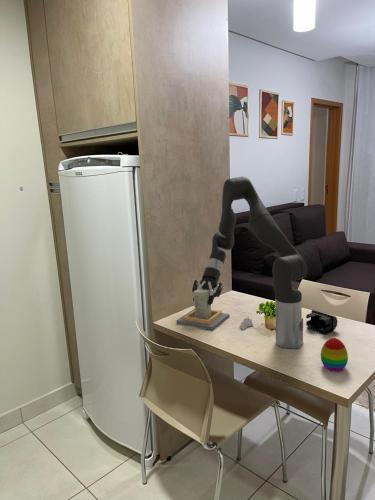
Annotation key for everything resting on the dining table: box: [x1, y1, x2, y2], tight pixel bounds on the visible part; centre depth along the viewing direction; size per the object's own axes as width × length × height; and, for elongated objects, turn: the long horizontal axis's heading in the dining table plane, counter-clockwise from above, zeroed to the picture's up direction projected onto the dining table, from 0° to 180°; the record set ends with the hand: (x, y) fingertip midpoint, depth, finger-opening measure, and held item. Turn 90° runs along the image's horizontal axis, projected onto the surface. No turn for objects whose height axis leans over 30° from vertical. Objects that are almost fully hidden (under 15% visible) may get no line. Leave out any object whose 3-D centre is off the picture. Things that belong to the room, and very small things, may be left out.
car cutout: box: [239, 317, 254, 330], centre depth 155 cm, size 15×7×4 cm, turn 123°
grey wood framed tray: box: [175, 308, 230, 331], centre depth 167 cm, size 18×16×3 cm
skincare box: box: [192, 288, 212, 319], centre depth 166 cm, size 6×4×12 cm
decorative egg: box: [320, 337, 349, 372], centre depth 121 cm, size 8×8×10 cm
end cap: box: [305, 309, 338, 336], centre depth 151 cm, size 10×7×7 cm
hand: (201, 303), depth 165 cm, fingers open, 6 cm apart
